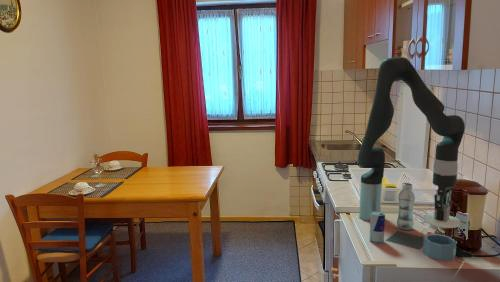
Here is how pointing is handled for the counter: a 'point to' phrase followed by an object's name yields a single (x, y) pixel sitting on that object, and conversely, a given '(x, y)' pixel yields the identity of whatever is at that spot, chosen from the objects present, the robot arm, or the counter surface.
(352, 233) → the counter surface
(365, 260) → the counter surface
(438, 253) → the bowl
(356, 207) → the counter surface
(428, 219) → the lid
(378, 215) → the energy drink
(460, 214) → the syrup box
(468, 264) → the counter surface
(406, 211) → the plastic bottle
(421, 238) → the mat
